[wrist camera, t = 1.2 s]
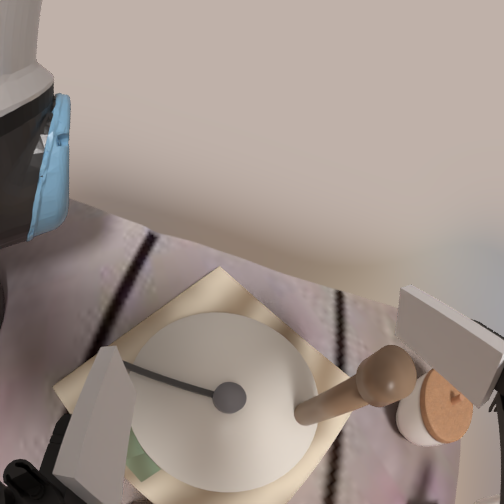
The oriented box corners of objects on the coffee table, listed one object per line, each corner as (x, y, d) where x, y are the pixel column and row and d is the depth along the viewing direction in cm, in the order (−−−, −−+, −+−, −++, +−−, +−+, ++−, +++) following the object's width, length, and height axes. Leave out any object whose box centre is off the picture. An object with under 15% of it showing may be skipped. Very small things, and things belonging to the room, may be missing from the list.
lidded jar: (378, 386, 32) (428, 359, 25) (428, 381, 34) (473, 355, 27) (385, 460, 24) (442, 448, 18) (437, 444, 26) (487, 427, 20)
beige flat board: (56, 390, 21) (51, 386, 20) (217, 273, 37) (219, 265, 36) (229, 552, 14) (233, 557, 13) (357, 392, 30) (365, 388, 29)
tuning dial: (89, 450, 17) (15, 438, 7) (150, 291, 30) (152, 184, 20) (306, 499, 19) (414, 508, 8) (322, 342, 32) (399, 268, 22)
